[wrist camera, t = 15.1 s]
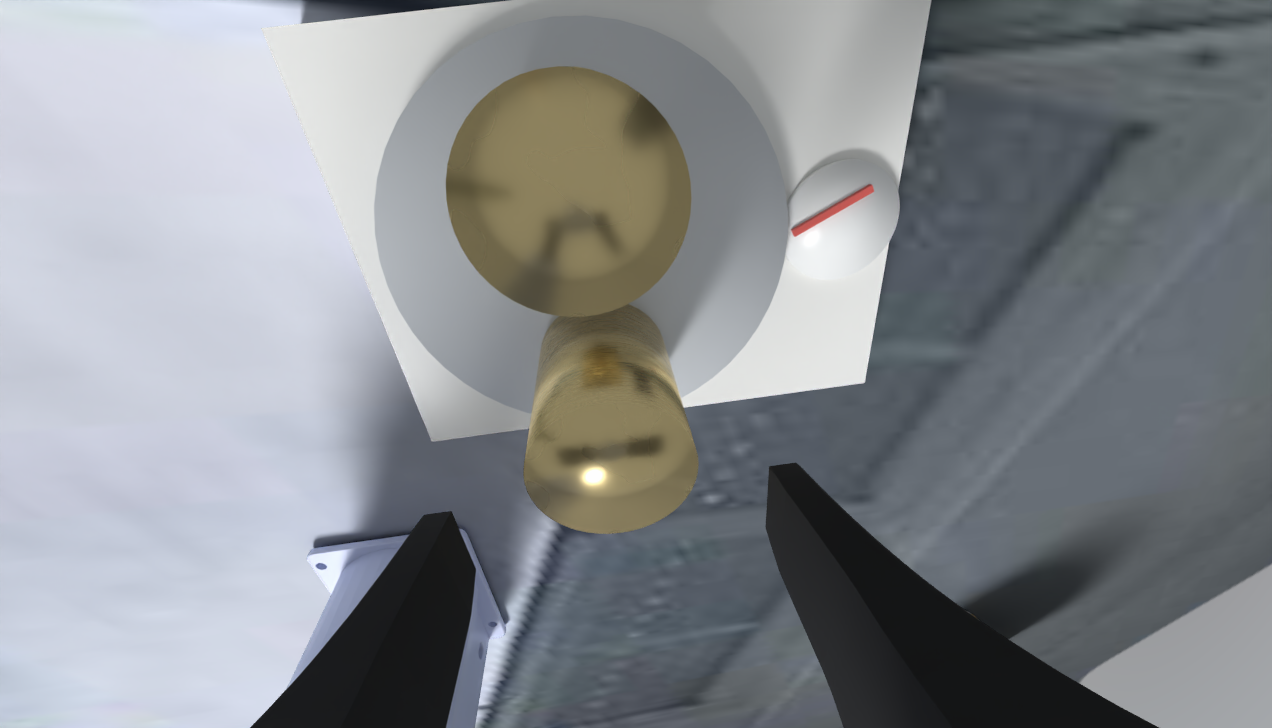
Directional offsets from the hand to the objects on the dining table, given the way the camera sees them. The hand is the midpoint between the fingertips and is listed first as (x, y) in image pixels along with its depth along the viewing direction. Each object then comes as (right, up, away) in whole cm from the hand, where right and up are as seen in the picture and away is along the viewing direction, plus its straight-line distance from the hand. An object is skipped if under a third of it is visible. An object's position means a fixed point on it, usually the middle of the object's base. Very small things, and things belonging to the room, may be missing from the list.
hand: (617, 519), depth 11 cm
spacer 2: (-1, +4, +7) cm, 8 cm away
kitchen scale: (0, +9, +7) cm, 11 cm away
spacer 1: (-1, +10, +3) cm, 10 cm away
